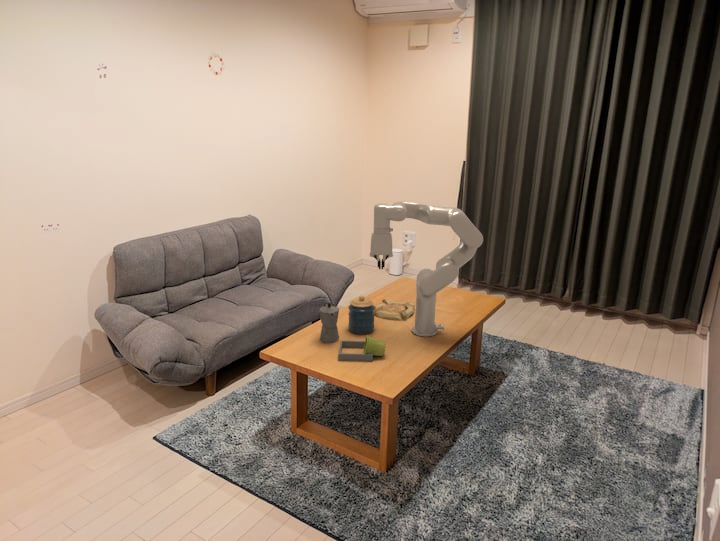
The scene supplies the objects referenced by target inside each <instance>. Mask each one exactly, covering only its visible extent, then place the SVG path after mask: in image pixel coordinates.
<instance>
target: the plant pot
mask: <svg viewBox="0 0 720 541" xmlns="http://www.w3.org/2000/svg"><path fill="white" fill-rule="evenodd" d="M364 341H365V344H364V348H363V352H362V354H373V357H384V354H385V352H386V342H385V341H382V340H378V339H376V338H373V337H371V336H369V334H366V336H365V340H364Z"/></svg>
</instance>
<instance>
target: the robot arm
mask: <svg viewBox="0 0 720 541" xmlns="http://www.w3.org/2000/svg"><path fill="white" fill-rule="evenodd" d="M406 219H412V220H417V221H420V222H421V223H424V224H426V225H434V226H435V225H436V226H445V227H450V228H451V230H452V231H453V232H454V233H455V234H456V235H457V237H458V238H459V239H460V242H459V243H458V245H457V246H456V247H455V248H453V250H451V251H450V252H449V253H447V254H445V255H444V256H443V257H441V258H440V259H438V261H437V262H436V264H435V269H434V270H433V269H430V268H423V269H421V270H420V271H419V272H418V273H417V275H416V283H415V284H416V291H415V292H416V293H415V294H416V296H415V313H414V314H415V318H414V319H415V320H414V325H413V326H412V327H411V333H412V334H414V335H415V336H419V337H433V336H435V335H437V334H438V330H440V331H441V330H445V325H442V324H441V323H440V324H439V323H436V307H437V306H436V304H437V293H439V292H440V291H442V290H443V289H445V288H446V287H448V286H449V285H451V284H452V283H453V282H454V281H455V280H456V279H457V278H458V276H459V274H460V273H459V272H460V271H459V270H460V269H461V268H462V267H463V266H464V265H465V264H466V263H467V262H469V261H470V260H472V258H473V257H474V255H475V254H476V252H477V250H478V248H480V247H481V246H482V245H483V242H484V236H483V234H482V232H481V231H480V230H479V229H478V228H477V227H476V226H475V225H474V224H473V222H472V221H471V220H470V219H469V217H468V216H467V215H466V213H464V211H463V210H462V209H460V208H456V207H450V206H449V207H447V206H436V205H430V204H423V203H416V202H408V201H407V202H406V201H396V202H393V203H392V204H391V205H390V204H388V203H376V204H374V207H373V232H372V233H371V238H370V252H369V257H372V258H374V259H375V260H376V262H377V268H378V270H384V268H385V265H386V260H388V259H389V258H392V257H393V256H394V254H393V235H392V233H391V232H393V231H394V228H393V227H392V228H391V221H394V222H403V221H405V220H406ZM380 256H382V259H381V258H380Z"/></svg>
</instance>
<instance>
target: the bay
mask: <svg viewBox="0 0 720 541" xmlns="http://www.w3.org/2000/svg"><path fill="white" fill-rule="evenodd" d="M364 344H365V340H364V341H363V340H362V341H361V340H340V343H339V350H338V357H337V358H338V360H337V361H344V362H345V361H349V362H352V361H353V362H354V361H357V362H373V360H374V356H373V354H363V353H352V352H349V353H348V352H347V353H345V352H343V348H345V349H346V348H347V349H349V348H351V349H353V348H354V349H364ZM342 352H343V353H342Z"/></svg>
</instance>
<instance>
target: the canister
mask: <svg viewBox="0 0 720 541" xmlns="http://www.w3.org/2000/svg"><path fill="white" fill-rule="evenodd" d="M347 307H348V310H349V311H348V313H347V314H348V326H347V327H348V330H349V332H351V333H352V334H357V335H369V334H371V333H372V332H374V330H375V325H376V324H375V313H374V309H375V305H374V302H373V301H372V300H371V299H370V298H367V297H365V296H364V295H360V296H359V297H356V298H353V299H352V300H350V302H349V305H348V306H347Z"/></svg>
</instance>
